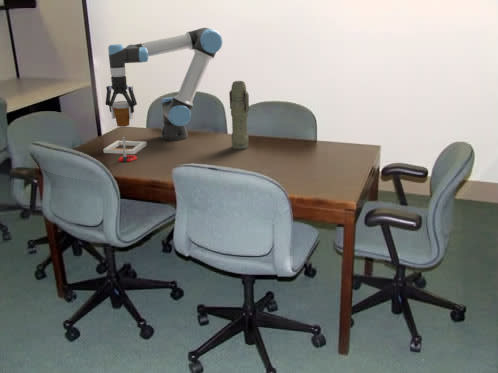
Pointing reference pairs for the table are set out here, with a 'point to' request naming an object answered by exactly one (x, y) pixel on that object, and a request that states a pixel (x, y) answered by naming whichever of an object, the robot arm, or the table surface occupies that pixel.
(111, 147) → the holder frame
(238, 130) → the olive green statue
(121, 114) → the disposable coffee cup
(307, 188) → the table surface
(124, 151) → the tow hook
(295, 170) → the table surface
